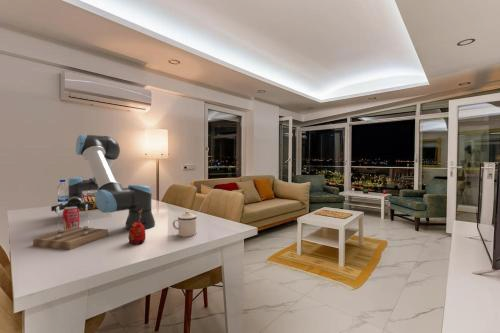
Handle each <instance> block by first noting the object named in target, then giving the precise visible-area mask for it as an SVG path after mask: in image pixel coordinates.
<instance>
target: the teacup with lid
mask: <svg viewBox="0 0 500 333" xmlns="http://www.w3.org/2000/svg"><path fill="white" fill-rule="evenodd" d="M175 222H178V223H177V224H178V225H177V226H178V227H177V226H176V224H175ZM172 227H173V228H174V229H175V230H177V231H178V236H180V237H184V238H185V237H192V236H193V237H194V236H195V235H196V234H197V215H196V214H193V213H192V212H190V211H189V210H185V211H184V213H183V214H180V215H178V217H177V219H175V220H173V221H172Z"/></svg>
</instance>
